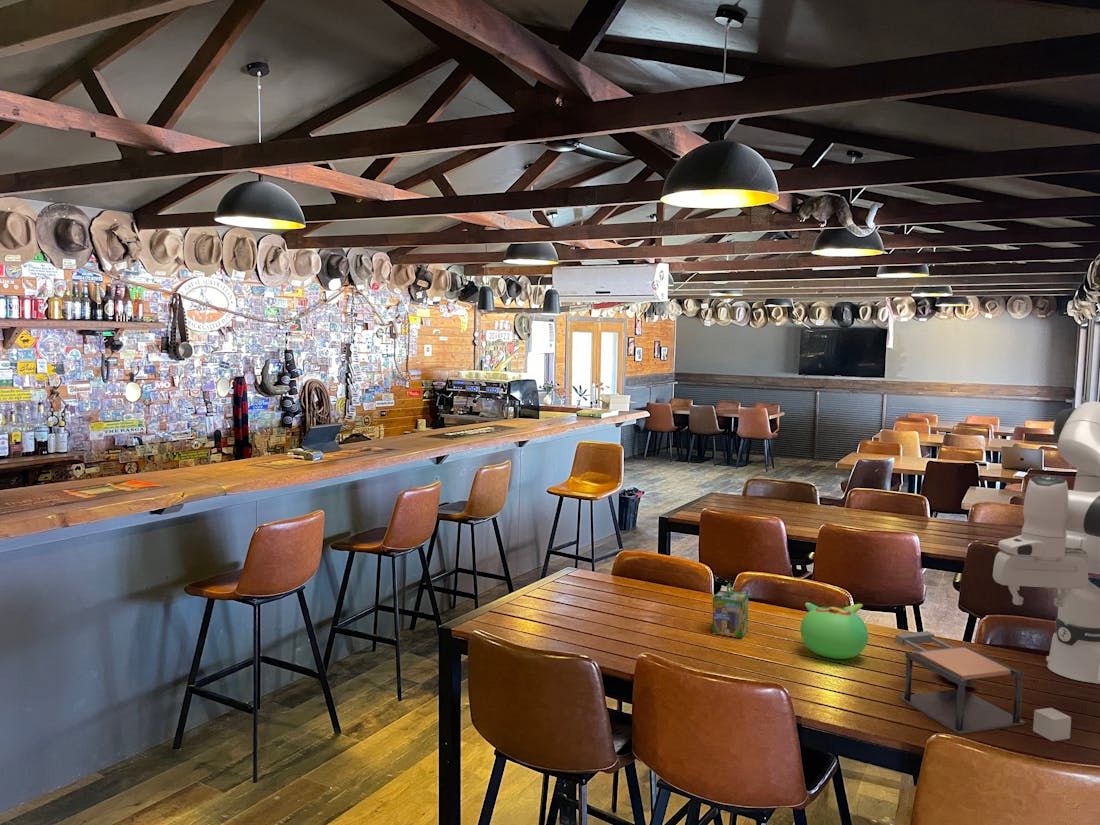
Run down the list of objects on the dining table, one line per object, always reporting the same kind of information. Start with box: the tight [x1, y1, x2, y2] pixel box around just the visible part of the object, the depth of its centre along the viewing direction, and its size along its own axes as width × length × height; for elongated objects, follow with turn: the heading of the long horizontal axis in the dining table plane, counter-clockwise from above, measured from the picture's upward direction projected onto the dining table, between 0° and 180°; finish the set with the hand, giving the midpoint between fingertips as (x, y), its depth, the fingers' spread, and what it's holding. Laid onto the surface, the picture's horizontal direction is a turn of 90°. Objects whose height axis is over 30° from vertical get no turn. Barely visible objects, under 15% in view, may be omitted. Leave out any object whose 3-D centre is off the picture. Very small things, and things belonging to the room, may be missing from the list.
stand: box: [899, 645, 1026, 735], centre depth 191 cm, size 19×19×12 cm
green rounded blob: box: [799, 602, 869, 660], centre depth 225 cm, size 18×17×15 cm
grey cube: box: [1032, 707, 1072, 742], centre depth 180 cm, size 5×5×5 cm
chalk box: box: [711, 582, 750, 639], centre depth 242 cm, size 9×9×15 cm
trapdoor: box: [894, 630, 1011, 680], centre depth 195 cm, size 24×14×2 cm, turn 17°
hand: (1038, 605), depth 185 cm, fingers open, 8 cm apart
